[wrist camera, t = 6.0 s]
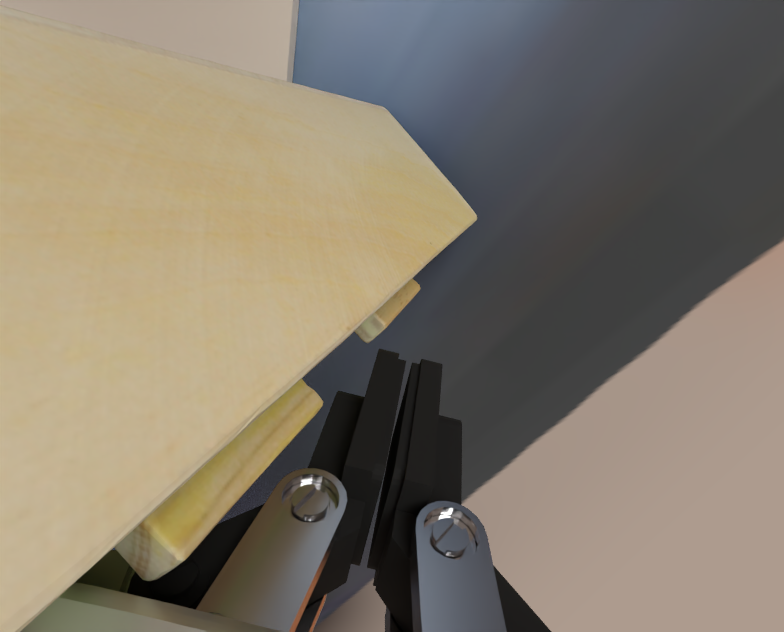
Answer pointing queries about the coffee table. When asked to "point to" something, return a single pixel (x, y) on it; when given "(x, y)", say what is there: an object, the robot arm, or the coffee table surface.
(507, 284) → the coffee table surface
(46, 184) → the toy refrigerator
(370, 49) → the coffee table surface
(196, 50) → the sheet of paper
